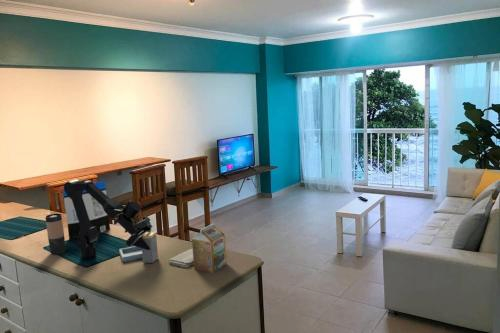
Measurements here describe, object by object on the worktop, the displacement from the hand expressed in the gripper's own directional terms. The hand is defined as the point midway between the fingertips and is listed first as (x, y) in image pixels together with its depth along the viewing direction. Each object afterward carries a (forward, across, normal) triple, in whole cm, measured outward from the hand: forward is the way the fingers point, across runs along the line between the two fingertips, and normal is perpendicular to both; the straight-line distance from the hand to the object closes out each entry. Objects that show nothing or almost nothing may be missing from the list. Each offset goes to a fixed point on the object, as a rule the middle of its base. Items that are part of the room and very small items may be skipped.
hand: (152, 247), depth 196 cm
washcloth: (+17, +3, -7) cm, 19 cm away
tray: (-4, +6, +14) cm, 16 cm away
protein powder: (-34, +36, +45) cm, 67 cm away
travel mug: (-35, +8, +45) cm, 58 cm away
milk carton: (+26, -4, -16) cm, 31 cm away
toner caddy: (+4, 0, +6) cm, 7 cm away
